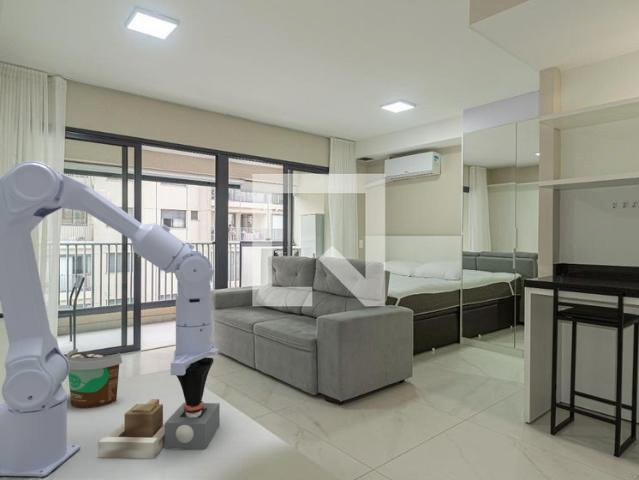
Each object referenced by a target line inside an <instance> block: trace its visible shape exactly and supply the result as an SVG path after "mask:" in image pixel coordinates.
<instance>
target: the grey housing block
mask: <svg viewBox="0 0 639 480" xmlns="http://www.w3.org/2000/svg"><path fill="white" fill-rule="evenodd" d="M203 403H204V408H203V409H202V416H201V418H200V417H186V412H185V411H184V404H185V403H184V402H182V404H181V405H180V406H179V407H178V408H177V410H175V411H174V413H172V415H171V416H170V417H168V419H167V420H166V421H165V422H164V424H165V446H164V449H178V450H179V449H181V450H183V449H187V450H193V449H194V450H206V448H207V447H208V445H209V444H210V442H211V441H212V439H213V437H214V436H215V434H216V432H217V431H218V429H219V427H220V422H221V421H220V410H221V409H220V402H217V403H215V402H210V403H209V402H203Z"/></svg>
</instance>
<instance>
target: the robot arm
mask: <svg viewBox="0 0 639 480" xmlns="http://www.w3.org/2000/svg"><path fill="white" fill-rule="evenodd" d="M61 209H67V210H71V211H78V212H79V211H80V212H84V213H87V214H88V215H90V216H92V217H93V218H95V219H97V220H99V221H100V222H101V223H103V224H104V225H107V226H108V227H110V228H111V229H113V230H114V231H116V232H118V233H120V234H121V235H122V236H125V238H127V239H129V240H131V246H132V251H133V252H134V253H135V254H137V255H138V256H140V257H141V258H143V259H145V260H146V261H147V262H149V263H150V264H152V265H153V266H154V267H155V266H156V267H157V268H158V269H160V270H161V271H163V272H165V273H166V274H170V273H171V274H174V275H175V279H176V280H177V295H176V297H175V350H174V353H173V359H172V361H171V362H170V376H176V378H177V379H178V382H179V383H180V387H181V390H182V393H183V398H184V400H185V401H184V402H186V405H187V406H198V405H199V404H200V403H201V401H203V398H204V397H203V396H204V393H205V386H206V382H207V378H208V375H209V372H210V370H211V368H212V366H213V363H214V357H210V356H216V355H217V354H218V353H219V348H217V347H213V338H212V295H211V291H212V290H211V280H212V279H213V276H214V269H213V265H212V263H211V261H210V259H209V258H208V257H207V256H205V255H204V254H202V253H201V252H199V251H198V250H197V251H195V250H194V249H195V245H194V244H193V243H186V242H184V241H183V240H181V238H178V237H177V236H175V235H174V234H172V233H171V232H170V231H171V228H170V227H169V226H167V225H166V224H163V225H159V224H158V223H157V222H152V223H147V224H143V223H142V222H140V221H138V219H136V218H134V216H132V215H130V214H129V213H128V212H126V211H125V210H124V209H122V208H120V207H119V206H117V205H116V204H115V203H113V202H112V201H111V200H109V199H108V198H107V197H105V196H103V195H102V194H101V193H100V192H97V190H95V189H94V188H92V187H91V186H89V185H87V184H85V183H83V182H80V181H78V180H77V179H75V178H72V177H71V176H69V175H66V174H65V173H63V172H58V171H56V170H55V169H53V168H52V167H51V166H49V165H48V164H46V163H43V162H41V161H38V160H28V161H23V162H19V163H18V164H15V166H13V167H12V168H11V169H10V170H8V171H7V172H6V173H5V174H3V175H2V176H1V177H0V307H1V310H2V317H3V320H4V325H5V331H6V335H7V339H8V349H7V353H6V356H5V360H4V367H5V379H4V381H3V384H2V388H1V395H2V398H3V400H4V402H2V403H0V476H1V477H2V476H7V477H8V476H9V477H46V476H48V475H49V474H50V473H52V471H54V470H55V469H56V468H58V467H59V466H60V465H61V464H63V463H64V462H65V461H66V460H68V458H70V457H71V456H72V455H74V454H75V453H76V452H77V451H78V450H79V449H80V448H81V445H80V444H68V394H67V393H68V392H67V391H66V390H65V388H64V387H63V385H62V383H63V382H64V381H65V380H66V379H67V377H68V373H69V362H68V359H67V358H66V355H65V354H64V353H63V352H62V351H61V349H60V348H59V347H60V346H59V343H58V340H57V338H56V337H55V336H54V334H53V333H52V332H51V327H50V322H49V316H48V312H47V307H46V303H45V298H44V293H43V288H42V287H43V286H42V283H41V278H40V274H39V273H40V272H39V269H38V265H37V264H38V263H37V258H36V252H35V249H34V244H33V238H32V231H33V230H34V229H35V228H36V227H37V226H38V225H39V224H40V223H41V222H42V221H43V220H45V218H46V217H47V216H49V215H51V214H53V213H55V212H57V211H59V210H61Z"/></svg>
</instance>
